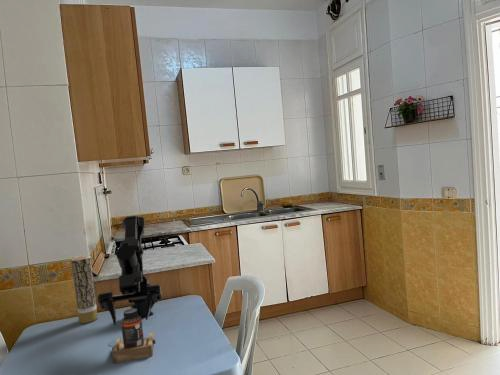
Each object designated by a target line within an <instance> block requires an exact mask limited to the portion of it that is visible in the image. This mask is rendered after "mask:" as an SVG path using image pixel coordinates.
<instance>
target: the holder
mask: <svg viewBox="0 0 500 375" xmlns="http://www.w3.org/2000/svg"><path fill="white" fill-rule="evenodd" d="M143 338H144V345H143V346H140V347H134V348H129V349H124V343H123V341H122V337H121V336H119V337H117V339H116V341H115V344H114V346H112V348H111V350H112V352H111V356H112V363H113V364H116V363H117V364H118V363H122V362H127V361H133V360H138V359H142V358H146V357H147V358H148V357H152V356H153V355H154V345H155V344H156V342H157V341H156V339H155V336H154V331H153V330H152V331H150V332H149V336H148V337H143Z"/></svg>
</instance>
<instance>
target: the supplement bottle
mask: <svg viewBox="0 0 500 375" xmlns="http://www.w3.org/2000/svg"><path fill="white" fill-rule="evenodd" d="M142 320H143V318H141V316H139V315H138V312H137V309H131V308H129V309H128V308H127V309H125V310H123V318H122V319H121V321H120V324H121V332H122V333H121V334H122V340H123V341H122V342H123V343H124V349H129V348H134V347H140V346H143V345H144V338H145V337H144V330H143V321H142Z"/></svg>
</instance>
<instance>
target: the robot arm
mask: <svg viewBox="0 0 500 375" xmlns="http://www.w3.org/2000/svg"><path fill="white" fill-rule="evenodd" d="M145 228H146V219H145V217H144V216H143V217H142V216H138V215H130V216H126V217H124V219H122V229H123V230H124V240H122V241H121V242H120V245H119V247H118V249H117V250H116V252H115V256H116V259H117V261H118V265H119V267H120V268H121V272H120V273H121V275H119V276H118V287H119V292H120V294H116V295H115V294H113V292H112V291H105V292H100V293H99V294H98V296H97V303H98V305H99V307H100V309H102V310H104V311H108V312H109V313H110V316H111V320H112V322H113V325H114V326H116V325H117V312H116V306H115V303H116V302H122V301H128V303H129V304H131V305H130V309H137V312H138V315H139V316H141V319H143V318H145V320H146V321H148V319H149V317H150V316H152V315H154V312H153V311H152V310H153V308H154V306H155V304H156V303H158V302H159V301H161V300H163V297H162V296H163V295H162V294H163V293H162V289H161V285H160V284H159V283H158V284H151V283H149V280H148V278H147V277H146V276H145V274H144V263H143V255H144V248H143V246H142V238H143V236H144V234H145Z"/></svg>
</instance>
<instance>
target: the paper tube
mask: <svg viewBox="0 0 500 375" xmlns="http://www.w3.org/2000/svg"><path fill="white" fill-rule="evenodd" d="M71 266H72V267H71V268H72V274H73V276H72V277H73V284H74V292H75V299H76V301H75V302H76V309H77V316H78V317H77V318H78V322H79V323H80V324H88V323H92V322H95V321H96V320H97V319H98V309H97V299H96V292H95V283H94V274H93V267H92V266H93V265H92V257H91V254H83V255H78V256H74V257H72V258H71Z"/></svg>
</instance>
